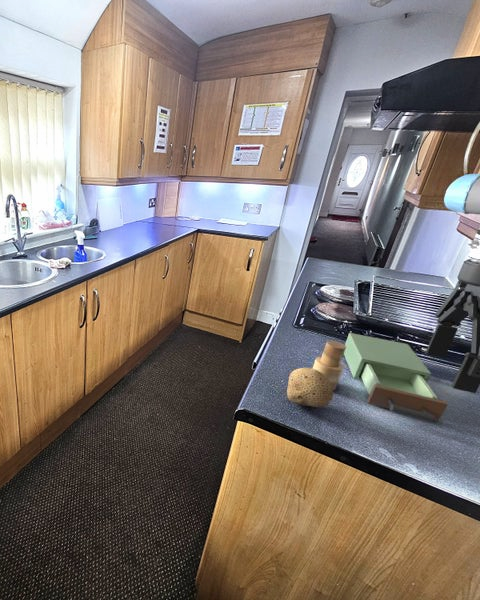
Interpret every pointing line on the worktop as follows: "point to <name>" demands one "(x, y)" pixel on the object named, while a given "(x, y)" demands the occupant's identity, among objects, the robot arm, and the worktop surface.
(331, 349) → the stepped wooden peg
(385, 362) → the cabinet
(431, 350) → the robot arm
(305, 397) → the natural sponge
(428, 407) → the drawer
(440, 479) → the worktop surface
